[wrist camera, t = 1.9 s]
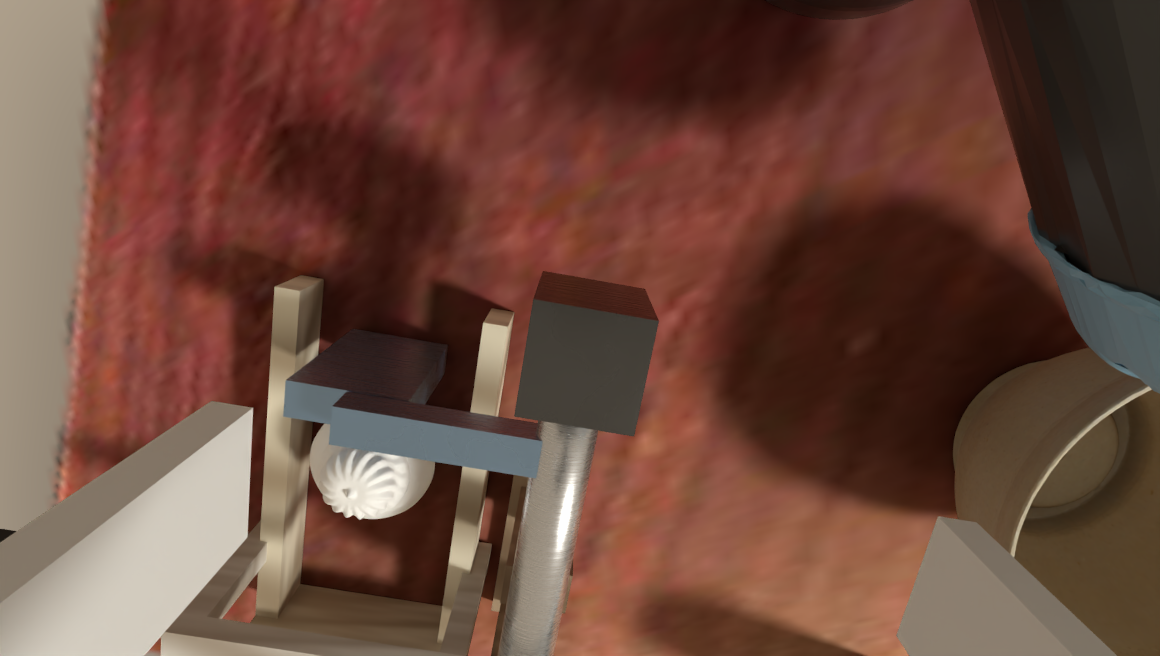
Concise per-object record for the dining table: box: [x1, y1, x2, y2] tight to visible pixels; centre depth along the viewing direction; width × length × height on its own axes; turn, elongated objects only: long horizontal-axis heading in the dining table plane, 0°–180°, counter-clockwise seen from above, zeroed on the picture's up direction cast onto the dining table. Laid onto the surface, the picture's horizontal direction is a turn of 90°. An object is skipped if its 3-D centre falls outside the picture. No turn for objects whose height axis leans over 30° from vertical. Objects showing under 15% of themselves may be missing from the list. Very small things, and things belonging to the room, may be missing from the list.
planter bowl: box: [953, 347, 1160, 656], centre depth 31 cm, size 16×16×11 cm
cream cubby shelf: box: [491, 475, 573, 656], centre depth 34 cm, size 9×4×8 cm, turn 170°
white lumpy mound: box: [310, 424, 435, 520], centre depth 33 cm, size 6×6×7 cm
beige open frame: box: [161, 275, 514, 656], centre depth 32 cm, size 20×13×10 cm, turn 170°
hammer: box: [283, 271, 659, 656], centre depth 29 cm, size 21×14×13 cm, turn 170°
